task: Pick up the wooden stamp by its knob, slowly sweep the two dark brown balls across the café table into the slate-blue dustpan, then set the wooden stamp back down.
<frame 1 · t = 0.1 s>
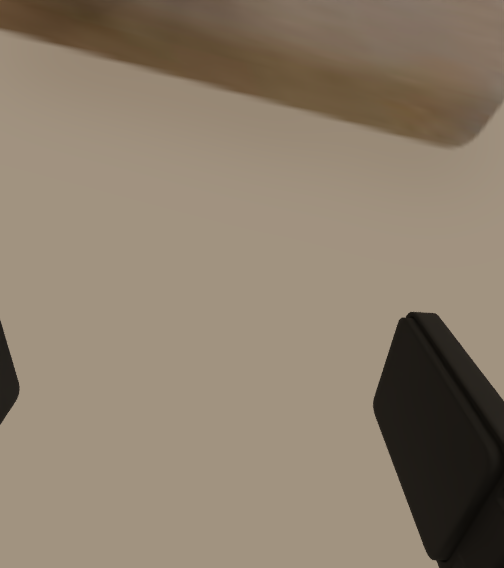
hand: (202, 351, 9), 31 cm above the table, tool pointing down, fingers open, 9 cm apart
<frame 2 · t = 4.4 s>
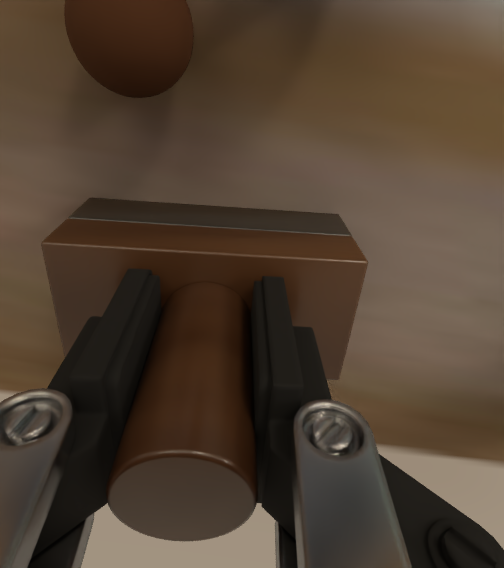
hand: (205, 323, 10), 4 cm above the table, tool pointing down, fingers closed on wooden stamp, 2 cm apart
wooden stamp: (214, 261, 14), on the table, touching gripper
crumb b: (132, 30, 9), point 1 cm above the table
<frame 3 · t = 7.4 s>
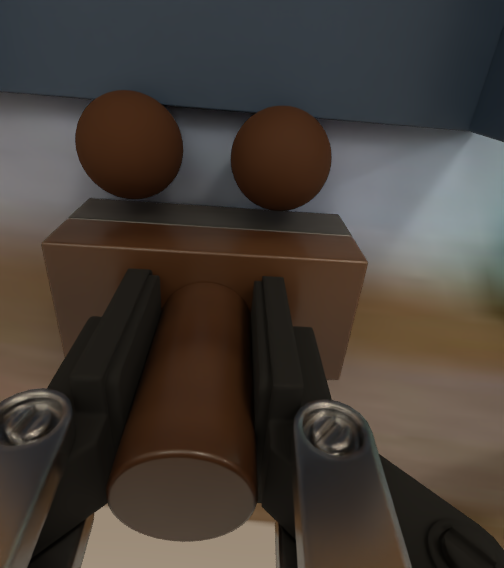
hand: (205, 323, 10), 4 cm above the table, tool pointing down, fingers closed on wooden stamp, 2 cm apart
wooden stamp: (214, 261, 14), on the table, touching gripper
crumb a: (280, 160, 11), point 1 cm above the table, tilted 121°
crumb b: (131, 146, 11), point 1 cm above the table, tilted 135°
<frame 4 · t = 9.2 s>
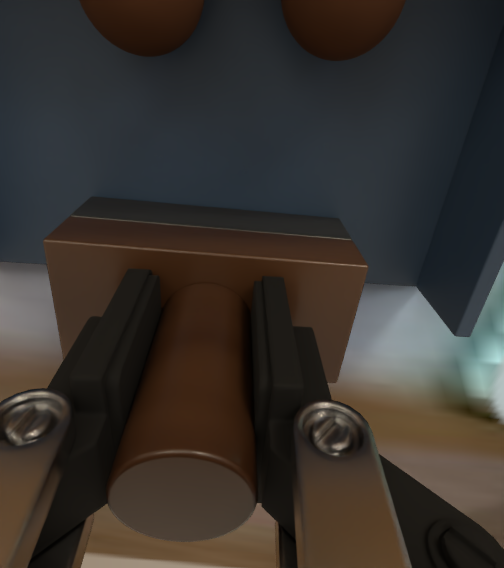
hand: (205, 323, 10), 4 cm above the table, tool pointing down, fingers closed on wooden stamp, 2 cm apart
wooden stamp: (214, 262, 14), on the table, touching gripper
dustpan: (216, 122, 12), on the table
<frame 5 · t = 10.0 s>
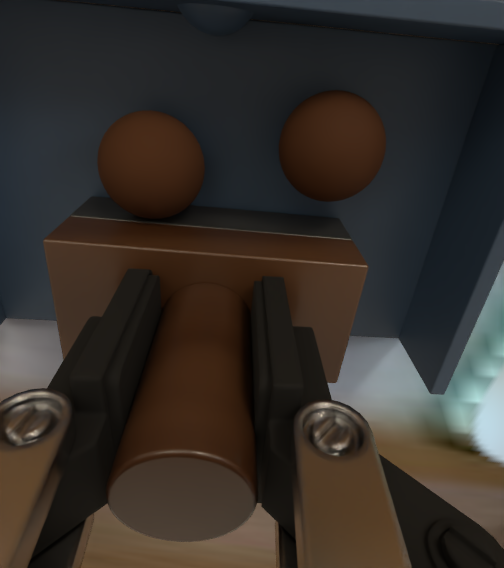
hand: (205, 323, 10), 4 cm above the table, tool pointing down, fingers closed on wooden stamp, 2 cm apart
wooden stamp: (214, 262, 14), on the table, touching gripper
crumb a: (330, 148, 10), point 2 cm above the table, tilted 102°, touching dustpan
dustpan: (213, 199, 13), on the table
crumb b: (152, 166, 11), point 2 cm above the table, tilted 167°, touching dustpan
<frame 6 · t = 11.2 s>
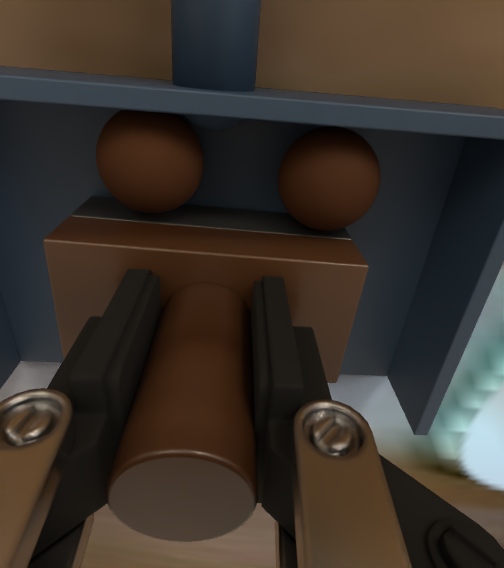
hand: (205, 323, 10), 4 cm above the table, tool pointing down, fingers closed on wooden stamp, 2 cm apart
wooden stamp: (214, 262, 14), point 1 cm above the table, touching gripper
crumb a: (327, 180, 11), point 2 cm above the table, tilted 151°, touching dustpan
dustpan: (213, 255, 14), on the table
crumb b: (151, 160, 11), point 2 cm above the table, tilted 101°, touching dustpan
when the fingers open (4 cm above the table, at t = 18.5 s): wooden stamp stays where it is, on the table.
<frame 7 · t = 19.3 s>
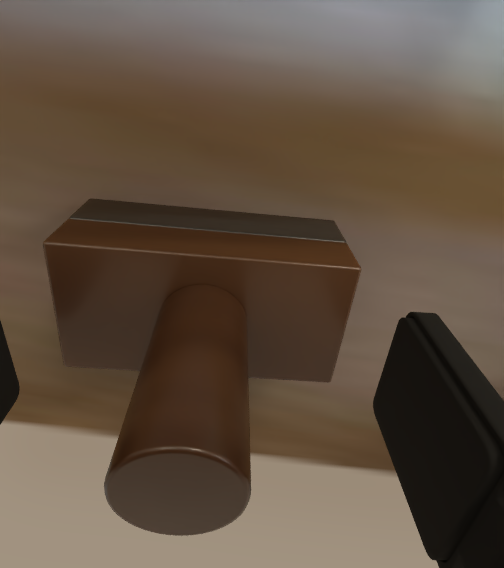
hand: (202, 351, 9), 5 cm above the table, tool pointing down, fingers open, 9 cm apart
wooden stamp: (211, 263, 14), on the table
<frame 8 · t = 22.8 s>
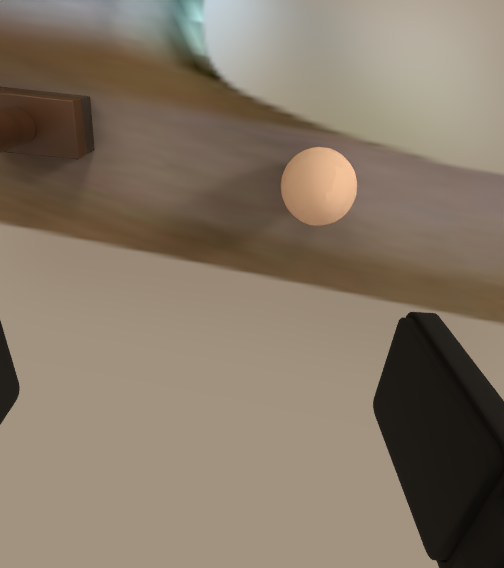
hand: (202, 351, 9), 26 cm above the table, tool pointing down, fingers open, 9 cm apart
wooden stamp: (40, 118, 31), on the table
egg: (310, 174, 34), on the table
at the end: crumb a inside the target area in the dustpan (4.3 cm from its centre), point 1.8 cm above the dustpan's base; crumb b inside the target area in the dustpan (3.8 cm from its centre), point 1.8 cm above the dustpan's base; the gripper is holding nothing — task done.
